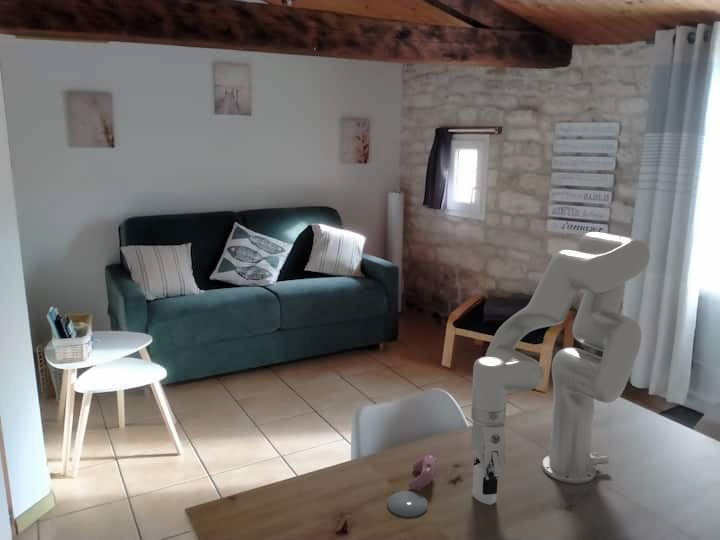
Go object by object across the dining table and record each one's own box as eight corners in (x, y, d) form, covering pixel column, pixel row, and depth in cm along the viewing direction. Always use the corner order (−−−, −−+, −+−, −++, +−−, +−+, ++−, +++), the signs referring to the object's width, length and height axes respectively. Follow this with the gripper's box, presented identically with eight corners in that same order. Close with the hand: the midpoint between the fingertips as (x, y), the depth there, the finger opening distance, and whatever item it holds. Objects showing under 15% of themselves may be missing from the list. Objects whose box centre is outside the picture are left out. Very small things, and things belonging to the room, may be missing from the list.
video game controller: (423, 498, 142) (438, 476, 140) (406, 488, 143) (420, 466, 141) (427, 476, 152) (441, 454, 150) (411, 467, 152) (424, 445, 150)
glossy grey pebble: (422, 492, 142) (422, 489, 142) (431, 515, 133) (431, 512, 133) (384, 495, 141) (384, 492, 141) (391, 518, 132) (391, 516, 132)
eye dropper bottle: (487, 490, 143) (490, 444, 140) (498, 504, 137) (501, 456, 135) (470, 493, 142) (472, 446, 139) (480, 507, 136) (482, 458, 134)
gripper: (519, 429, 127) (514, 506, 131) (491, 395, 144) (487, 465, 148) (485, 431, 126) (481, 509, 130) (460, 397, 143) (457, 467, 147)
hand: (484, 485), depth 139 cm, fingers open, 5 cm apart
